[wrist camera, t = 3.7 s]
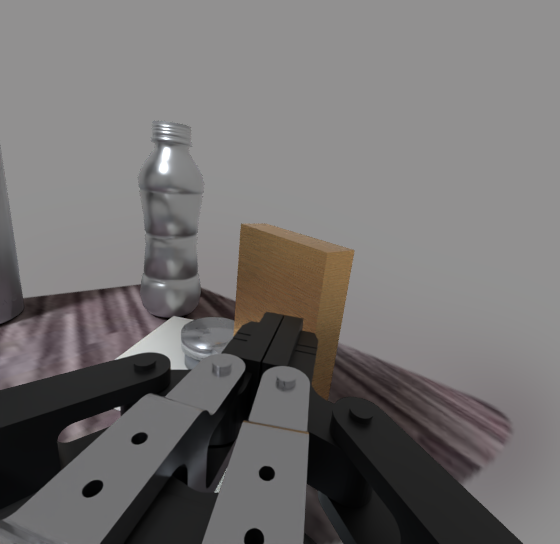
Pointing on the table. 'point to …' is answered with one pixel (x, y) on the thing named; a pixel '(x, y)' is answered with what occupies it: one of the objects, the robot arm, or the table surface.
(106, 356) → the table surface
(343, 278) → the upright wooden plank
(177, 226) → the plastic bottle
